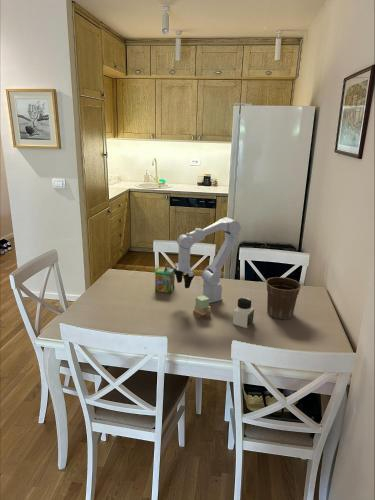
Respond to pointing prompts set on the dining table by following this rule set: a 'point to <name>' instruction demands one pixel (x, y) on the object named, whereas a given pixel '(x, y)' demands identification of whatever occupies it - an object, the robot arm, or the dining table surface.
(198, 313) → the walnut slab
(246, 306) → the medicine bottle
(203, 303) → the green cube
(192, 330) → the dining table surface
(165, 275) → the chalk box
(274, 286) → the plant pot
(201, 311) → the oak slab
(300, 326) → the dining table surface
